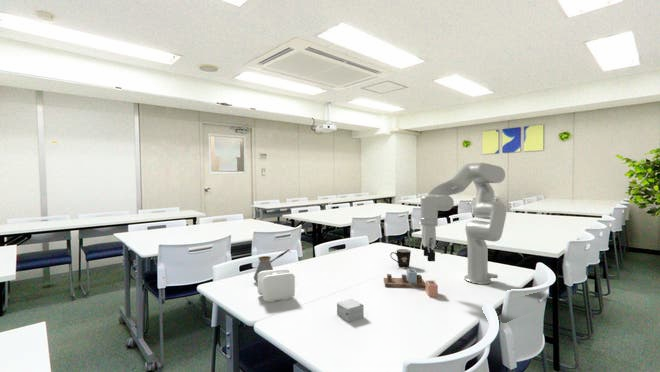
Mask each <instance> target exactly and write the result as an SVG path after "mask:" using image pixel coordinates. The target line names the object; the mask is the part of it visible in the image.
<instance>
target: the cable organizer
mask: <svg viewBox="0 0 660 372" xmlns="http://www.w3.org/2000/svg"><path fill="white" fill-rule="evenodd" d="M295 280H296V275H295V274H294V273H293V272H290V270H289V269H288V268H284V267H283V268H277V269H273V270H267V271H261V272H259V273H258V283H257V294H258V295H259V296H262V298H263V300H264V301H265V302H268V303H271V302H272V301H273V302H277V301H278V300H279V301H280V300H283V301H285V299H286V300H290V299H292V298H293V297H294V296H295V294H296V289H295V288H296V285H295V283H296V281H295Z"/></svg>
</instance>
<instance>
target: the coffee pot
mask: <svg viewBox="0 0 660 372" xmlns="http://www.w3.org/2000/svg"><path fill="white" fill-rule="evenodd" d="M287 253H290V254H291V253H292V252H291V249H287V250H284V252H282V253H280V254H279V255H277V256H276V257H275V258H273V259H271V258H272V256H270V255H269V256H267V255H266V256H264V255H263V256H259V257H258V260H259V263H258V265H257V268H256V270H255V273H254V274H253V280H254V281H255V282H258V273H259V272H261V271H267V270H274V268H273V266H272V264H271V263H273V262H274V261H275V260H277V259H279V258H281V257H282V256H284V255H285V254H287Z"/></svg>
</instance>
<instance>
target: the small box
mask: <svg viewBox="0 0 660 372" xmlns="http://www.w3.org/2000/svg"><path fill="white" fill-rule="evenodd" d="M364 307H365V306H364V304H363V303H362V302H361V303H360V302H359V301H358V300H355V299H354V298H348V299H346V300H345V299H344V300H341V301H338V302H336V315H337V316H338V317H340V318H342V319H343V320H344V321H346V322H352V321H356V320H359V319H362V318H364V317H365V315H364Z"/></svg>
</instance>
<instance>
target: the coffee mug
mask: <svg viewBox="0 0 660 372" xmlns="http://www.w3.org/2000/svg"><path fill="white" fill-rule="evenodd" d="M411 252H412V251H411V250H410V249H407V248H398V249H396V252H394V251H393V252H391V253H390V254H389V255H390V258H391V259H392V260H393V261H395V262H396V263H397V267H398V266H399V267H398V268H400V267H409V268H410V262H411V254H412V253H411ZM392 254H395V255H396V257H397V260H396V259H395V258H393V257H392Z"/></svg>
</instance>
